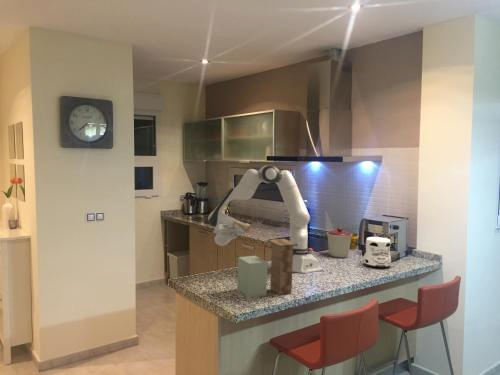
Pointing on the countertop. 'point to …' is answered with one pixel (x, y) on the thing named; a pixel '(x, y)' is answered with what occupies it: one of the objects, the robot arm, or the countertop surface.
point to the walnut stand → (281, 266)
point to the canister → (339, 243)
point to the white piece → (377, 252)
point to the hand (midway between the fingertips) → (237, 223)
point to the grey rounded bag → (394, 255)
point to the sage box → (252, 276)
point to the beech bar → (242, 226)
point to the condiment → (354, 241)
